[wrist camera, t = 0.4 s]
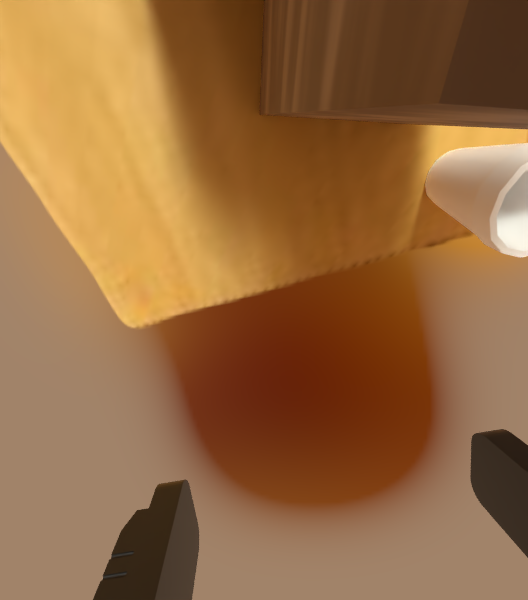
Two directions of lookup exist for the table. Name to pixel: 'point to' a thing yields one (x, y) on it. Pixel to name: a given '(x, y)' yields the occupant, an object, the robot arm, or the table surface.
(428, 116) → the stand
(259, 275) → the table surface
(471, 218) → the foam cup
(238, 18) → the table surface
